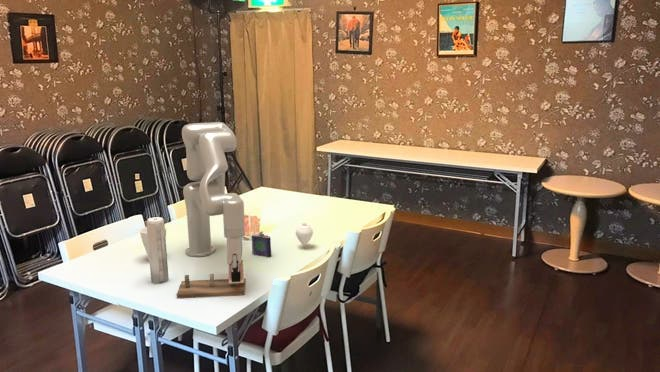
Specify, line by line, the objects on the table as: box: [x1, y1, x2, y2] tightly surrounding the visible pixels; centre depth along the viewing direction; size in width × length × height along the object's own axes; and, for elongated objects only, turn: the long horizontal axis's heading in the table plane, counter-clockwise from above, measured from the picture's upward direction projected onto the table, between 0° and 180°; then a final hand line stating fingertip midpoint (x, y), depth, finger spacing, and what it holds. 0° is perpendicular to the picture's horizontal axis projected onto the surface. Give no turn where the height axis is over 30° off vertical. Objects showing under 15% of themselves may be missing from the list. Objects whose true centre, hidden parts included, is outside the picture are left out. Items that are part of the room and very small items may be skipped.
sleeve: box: [228, 259, 245, 283], centre depth 204 cm, size 5×5×7 cm
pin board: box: [176, 273, 247, 299], centre depth 204 cm, size 12×24×6 cm, turn 96°
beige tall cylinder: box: [146, 216, 170, 285], centre depth 211 cm, size 6×6×25 cm
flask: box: [251, 231, 272, 258], centre depth 239 cm, size 9×3×11 cm, turn 65°
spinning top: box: [295, 221, 314, 249], centre depth 247 cm, size 8×8×12 cm
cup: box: [139, 226, 167, 262], centre depth 233 cm, size 10×10×14 cm
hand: (236, 277), depth 205 cm, fingers closed on sleeve, 5 cm apart
